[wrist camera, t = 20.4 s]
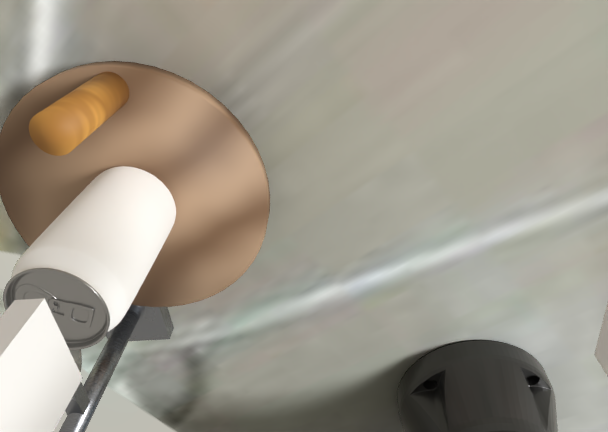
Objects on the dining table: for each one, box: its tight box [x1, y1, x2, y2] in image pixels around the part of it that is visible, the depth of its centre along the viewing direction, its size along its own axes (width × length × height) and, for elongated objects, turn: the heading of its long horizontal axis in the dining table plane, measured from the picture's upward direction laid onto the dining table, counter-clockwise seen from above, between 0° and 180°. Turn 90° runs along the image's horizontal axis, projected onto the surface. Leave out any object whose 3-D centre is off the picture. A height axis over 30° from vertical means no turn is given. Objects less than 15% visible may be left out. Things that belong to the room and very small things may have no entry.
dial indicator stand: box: [59, 304, 174, 432], centre depth 40 cm, size 10×6×14 cm, turn 6°
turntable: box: [0, 61, 270, 307], centre depth 34 cm, size 20×20×10 cm
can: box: [3, 166, 176, 350], centre depth 31 cm, size 6×6×12 cm
